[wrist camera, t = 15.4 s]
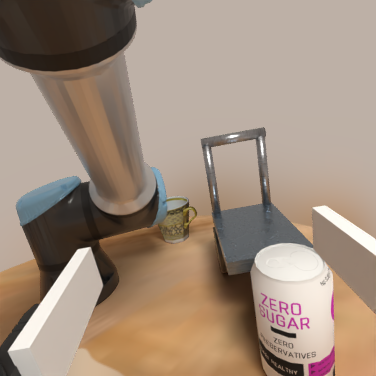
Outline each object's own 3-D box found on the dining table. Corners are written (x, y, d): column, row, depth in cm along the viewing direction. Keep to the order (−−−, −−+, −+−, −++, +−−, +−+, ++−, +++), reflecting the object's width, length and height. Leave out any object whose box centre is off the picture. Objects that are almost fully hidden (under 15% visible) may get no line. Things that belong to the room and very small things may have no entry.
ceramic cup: (150, 243, 69) (142, 209, 66) (173, 227, 77) (166, 195, 74) (190, 252, 61) (183, 213, 58) (211, 232, 69) (205, 197, 66)
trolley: (327, 327, 36) (321, 137, 28) (238, 341, 36) (209, 157, 29) (273, 247, 57) (261, 126, 50) (217, 256, 57) (197, 137, 50)
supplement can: (318, 335, 35) (314, 237, 31) (348, 402, 27) (348, 282, 23) (257, 339, 36) (245, 244, 32) (269, 403, 28) (255, 289, 24)
